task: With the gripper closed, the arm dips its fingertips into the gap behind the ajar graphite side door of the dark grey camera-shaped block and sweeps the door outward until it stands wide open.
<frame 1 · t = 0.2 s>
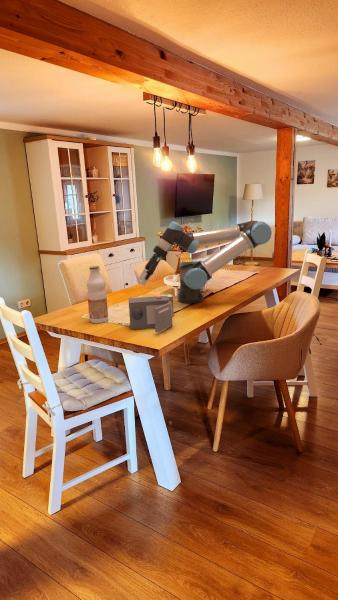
hand: (141, 281, 215), 16 cm above the table, tool tilted 35°, fingers open, 13 cm apart
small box: (165, 315, 207), on the table
fruit juice: (99, 321, 203), on the table
side door: (163, 317, 182), point 6 cm above the table, hinge at 50.0°
camera block: (150, 325, 193), on the table
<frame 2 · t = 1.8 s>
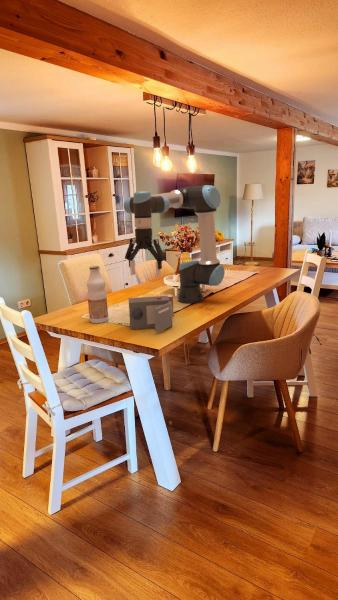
hand: (145, 275, 180), 26 cm above the table, tool pointing down, fingers open, 13 cm apart
nothing on the table moved.
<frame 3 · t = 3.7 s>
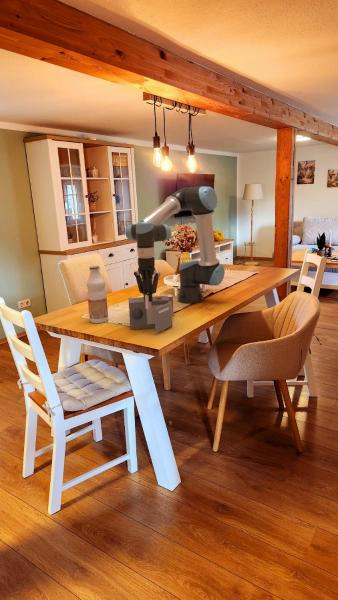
hand: (148, 308, 182), 11 cm above the table, tool pointing down, fingers closed
nothing on the table moved.
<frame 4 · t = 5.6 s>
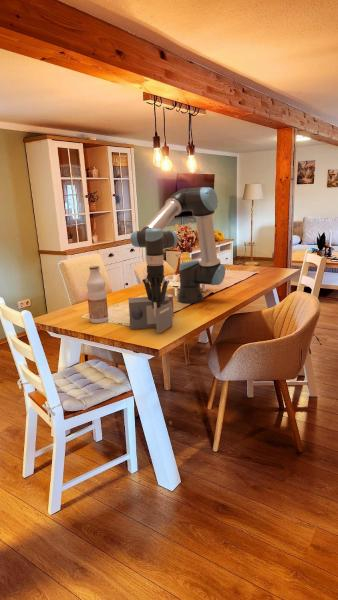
hand: (156, 315, 181), 8 cm above the table, tool pointing down, fingers closed
side door: (164, 317, 182), point 6 cm above the table, hinge at 53.8°, touching gripper
everything else where it was.
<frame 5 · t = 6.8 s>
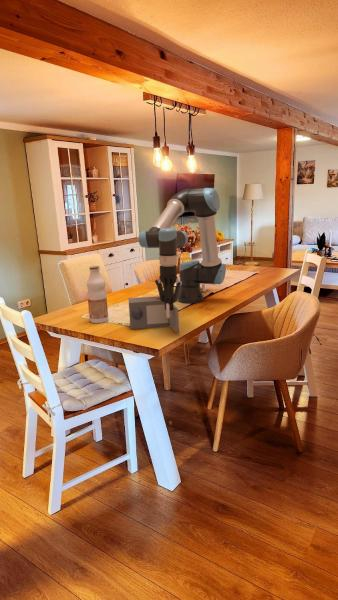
hand: (169, 317, 178), 8 cm above the table, tool pointing down, fingers closed
side door: (173, 317, 181), point 6 cm above the table, hinge at 98.3°, touching gripper
everything else where it was.
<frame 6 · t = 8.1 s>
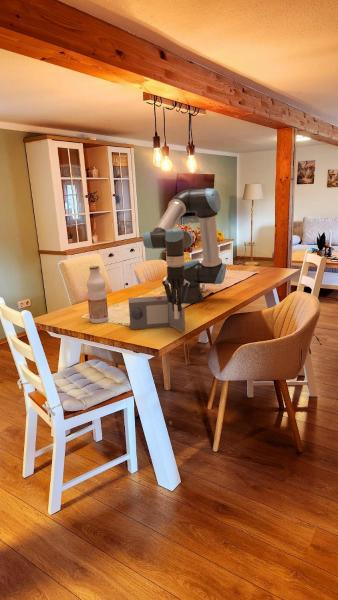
hand: (177, 318, 176), 7 cm above the table, tool pointing down, fingers closed
side door: (176, 316, 182), point 6 cm above the table, hinge at 112.5°, touching gripper
everything else where it was.
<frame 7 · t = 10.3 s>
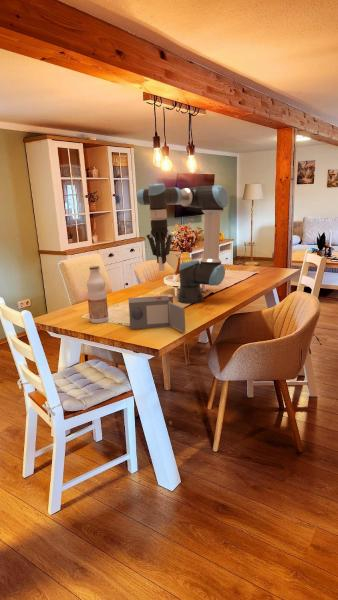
hand: (161, 270, 187), 26 cm above the table, tool pointing down, fingers closed
side door: (176, 316, 182), point 6 cm above the table, hinge at 113.0°
everything else where it was.
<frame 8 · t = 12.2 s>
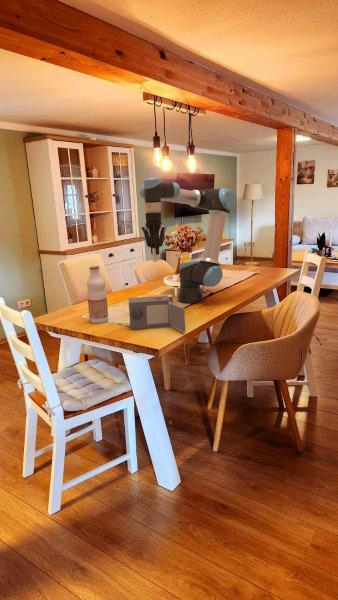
hand: (155, 261, 195), 29 cm above the table, tool pointing down, fingers closed
nothing on the table moved.
at the end: side door at +113° (first picture: +50°) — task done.
